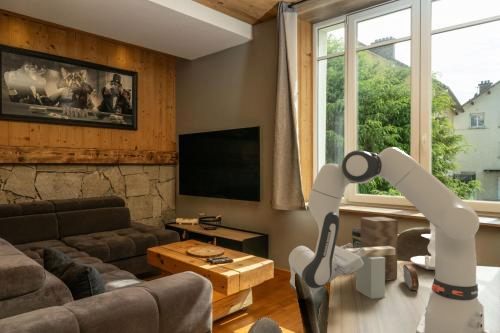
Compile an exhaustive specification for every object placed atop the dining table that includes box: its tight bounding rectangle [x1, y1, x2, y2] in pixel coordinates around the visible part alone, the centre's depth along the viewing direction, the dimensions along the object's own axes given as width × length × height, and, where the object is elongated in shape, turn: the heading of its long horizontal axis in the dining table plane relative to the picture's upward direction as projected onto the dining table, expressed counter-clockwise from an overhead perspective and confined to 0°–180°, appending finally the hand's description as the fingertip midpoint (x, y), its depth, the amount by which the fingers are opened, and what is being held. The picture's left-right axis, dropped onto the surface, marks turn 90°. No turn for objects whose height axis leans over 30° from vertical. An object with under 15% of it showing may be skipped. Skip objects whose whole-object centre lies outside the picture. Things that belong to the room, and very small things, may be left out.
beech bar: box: [345, 246, 395, 257], centre depth 135 cm, size 20×4×2 cm, turn 105°
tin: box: [402, 263, 420, 291], centre depth 143 cm, size 15×3×8 cm, turn 168°
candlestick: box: [410, 221, 435, 271], centre depth 168 cm, size 21×25×28 cm
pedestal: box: [355, 256, 386, 300], centre depth 135 cm, size 6×10×15 cm, turn 15°
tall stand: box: [360, 216, 399, 281], centre depth 156 cm, size 12×10×26 cm
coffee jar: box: [351, 227, 361, 248], centre depth 172 cm, size 10×8×19 cm
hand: (357, 246), depth 134 cm, fingers open, 7 cm apart
